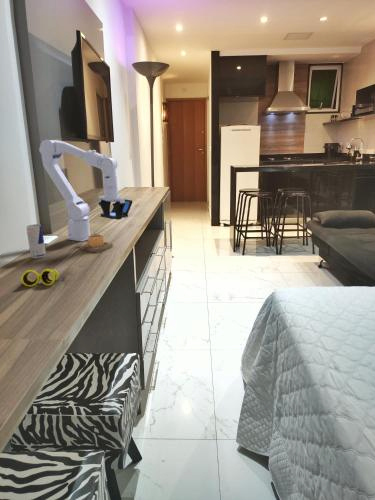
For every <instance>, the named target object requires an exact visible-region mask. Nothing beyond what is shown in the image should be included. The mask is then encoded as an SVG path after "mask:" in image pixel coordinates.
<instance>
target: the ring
mask: <svg viewBox="0 0 375 500" xmlns="http://www.w3.org/2000/svg"><path fill="white" fill-rule="evenodd" d="M98 235H99V237H96V238H93V234H90V236H89V237H88V243H89V246H92V247H97V246H102V245H103V244H104V242H105V241H104V235H103V234H98Z"/></svg>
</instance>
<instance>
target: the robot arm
mask: <svg viewBox="0 0 375 500" xmlns="http://www.w3.org/2000/svg"><path fill="white" fill-rule="evenodd" d="M38 151H39V153H40V155H41V161H42V166H43V168H44V170H45V171H46V172H47V174H48V175H49V177H50V179H51V180H52V182H53V183H54V185H55V187H56V188H57V190H58V191H59V193H60V194H61V196H62V197H63V199H64V201H65V202H66V203H65V209H66V210H67V214H68V216H69V218H70V219H69V220H68V221H67V226H66V227H67V234H68V237H67V240H69V241H70V240H71V241H78V242H84V241H87V240H88V237H89V236H91V229H90V220H89V219H90V218H89V215H90V212H91V208H90V206H89V204H88V203H86V202H85V201H84V199H83V198H81V197H79V196H78V195H77V193H76V191H75V190H74V188H73V187H72V185H71V184H70V182H69V181H68V178H67V177H66V175H65V174H64V173H63V171H62V169H61V168H60V166H59V164H58V163H59V160H60V158H61V157H62V155H63V154H69V155H72V156H75V157H77V158H80V159H82V160H84V162H85V164H87V165H90V166H91V167H92V166H93V167H95V168H97V169H100V171H101V172H102V183H103V193H104V195H99V196H98V205H99V207H100V208H101V210H102V212H103V213H104V216H105V217H104V216H103V217H104V219H105V218H107V219H108V217H110V212H111V205H112V206H113V207H114V209H115V214H116V219H115V220H118V221H119V220H122V218H121V217H122V212H123V209H124V206H125V197H121V196H119V192H118V179H117V178H118V176H117V168H118V162H117V160H116V159H115V158H113V156H108V157H107V155H106V154H101V153H99V152H97V150H95V149H88V150H87V151H86V150H84V149H82V148H80V147H77V146H76V145H75V146H74V145H73V144H70V143H68V142H66V141H64V140H63V141H61V140H59V139H54V140H53V139H44V140H42V141H41V142H40V145H39V149H38ZM112 202H113V203H112ZM115 202H116V203H115ZM111 203H112V204H111ZM88 241H89V240H88Z"/></svg>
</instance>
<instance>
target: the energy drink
mask: <svg viewBox="0 0 375 500" xmlns="http://www.w3.org/2000/svg"><path fill="white" fill-rule="evenodd" d="M26 235H27V240H28V247H29V253H30V254H29V255H30V257H31V258H32V259H41V258H42V259H43V258H45V257H46V255H47V253H46V247H45V246H46V245H45V240H44V233H43V226H42V224H40V223H39V224H37V223H36V224H29V225H27V226H26Z"/></svg>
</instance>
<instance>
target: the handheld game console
mask: <svg viewBox="0 0 375 500" xmlns="http://www.w3.org/2000/svg"><path fill="white" fill-rule="evenodd" d="M114 203H116V202H114ZM132 204H133V200H132V199H125V206H124V209H123V212H122V217H121V219H122V218H127V217H129V212H130V209H131V207H132ZM100 216H101V217H104V218H105V216H104V213H100ZM108 218H110V219H113V220H117V219H116V214H115V209H114V207H113V208H112V210H110V217H108ZM108 218H107V219H108Z"/></svg>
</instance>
